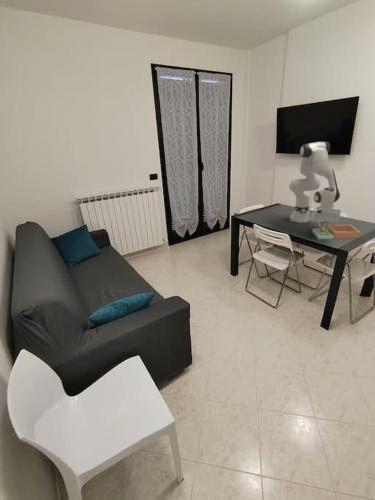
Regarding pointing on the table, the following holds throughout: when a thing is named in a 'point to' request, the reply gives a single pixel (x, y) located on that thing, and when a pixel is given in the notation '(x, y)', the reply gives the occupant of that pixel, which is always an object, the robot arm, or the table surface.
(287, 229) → the table surface
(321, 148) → the robot arm
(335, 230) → the orange hollow square box
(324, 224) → the birch cylinder
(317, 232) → the green tray
